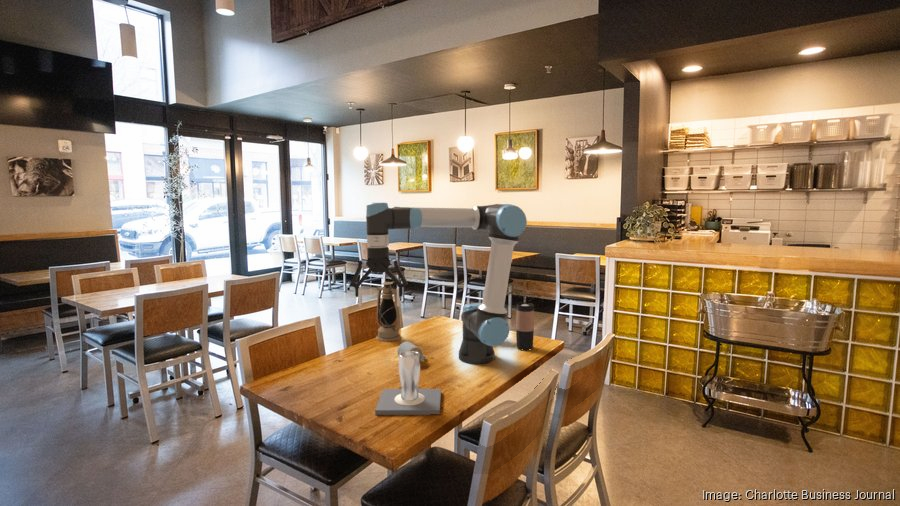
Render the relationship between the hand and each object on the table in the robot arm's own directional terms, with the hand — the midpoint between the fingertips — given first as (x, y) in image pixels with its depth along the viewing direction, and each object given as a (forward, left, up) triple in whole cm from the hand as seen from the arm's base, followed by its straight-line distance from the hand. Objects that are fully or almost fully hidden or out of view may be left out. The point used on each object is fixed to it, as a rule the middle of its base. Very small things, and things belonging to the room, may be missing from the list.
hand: (379, 305), depth 165 cm
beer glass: (-12, +17, -27) cm, 34 cm away
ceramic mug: (-9, -23, -29) cm, 38 cm away
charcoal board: (-12, +17, -29) cm, 35 cm away
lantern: (+5, -54, -29) cm, 61 cm away
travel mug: (-58, -38, -29) cm, 75 cm away
